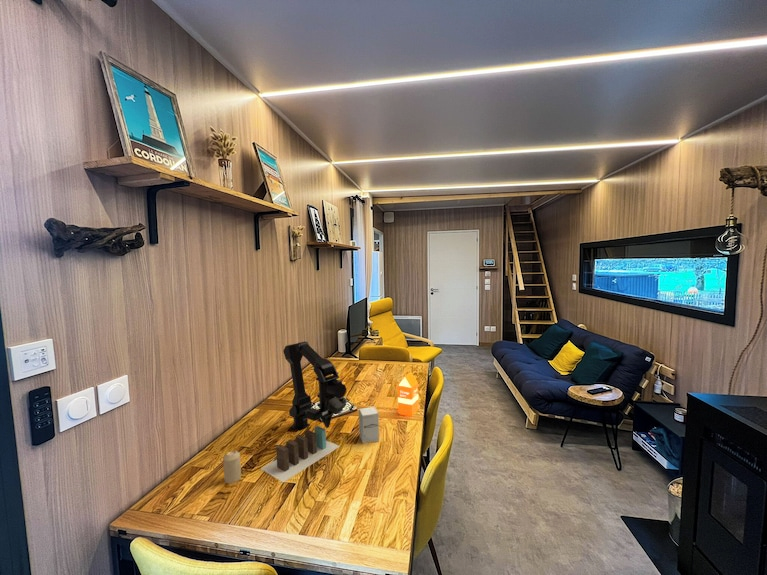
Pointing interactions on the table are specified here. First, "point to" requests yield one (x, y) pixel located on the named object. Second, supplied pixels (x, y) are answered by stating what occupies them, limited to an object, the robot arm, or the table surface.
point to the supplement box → (368, 425)
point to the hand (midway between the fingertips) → (327, 427)
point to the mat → (303, 464)
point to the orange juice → (408, 395)
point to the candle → (232, 467)
